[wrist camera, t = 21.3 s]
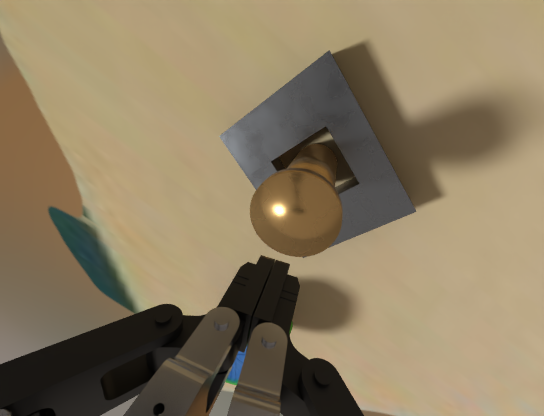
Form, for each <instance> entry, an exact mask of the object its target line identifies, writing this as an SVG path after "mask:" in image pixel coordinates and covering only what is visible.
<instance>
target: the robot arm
mask: <svg viewBox="0 0 544 416" xmlns="http://www.w3.org/2000/svg"><path fill="white" fill-rule="evenodd" d="M289 266H290V264H288V263H285V262H282V261H278V260H276V261H275V259H272V258H268V257H265V256H262V255H261V256H260V258H259V260H258V262H257V264H253V263H249V262H247V263H246V264H244V265H243V266H241V267H240V269H239V270H238V272H237V274H236V276H235V277H234V279H233V281H232V282H231V284H230V286H229V288H228V289H227V291H226V293H225V295H224V296H223V298H222V300H221V301H220V303H219V305H218V306H217V308H214V309H212V310H210V311H209V312H208V313H207V314H206V315H201V316H186V315H183V314H182V311H181V310H180V308H178V307H177V306H175V305H172V304H162V305H158V306H156V307H153V308H150V309H147V310H145V311H142V312H139V313H137V314H134V315H132V316H129V317H126V318H123V319H121V320H118V321H115V322H113V323H110V324H107V325H105V326H102V327H99V328H97V329H94V330H91V331H88V332H86V333H83V334H80V335H78V336H75V337H73V338H70V339H67V340H64V341H62V342H59V343H56V344H54V345H51V346H48V347H45V348H43V349H40V350H38V351H35V352H32V353H29V354H27V355H25V356H21V357H19V358H16V359H14V360H11V361H8V362H5V363H3V364H0V416H100V415H102V414H104V413H106V412H107V411H109V410H111V409H113V408H115V407H117V406H118V405H120V404H122V403H124V402H126V401H128V400H129V399H131V398H133V397H135V396H136V395H138V394H139V395H138V397H137V398H136V399H135V401H134V402H133V404H132V405H131V406H130V408H129V409H128V410H127V411H126V413H125V414H124V415H123V416H209V414H210V412H211V410H212V408H213V406H214V404H215V402H216V400H217V398H218V396H219V394H220V392H221V390H222V388H223V386H224V383H225V381H226V379H227V377H228V375H229V373H230V371H231V369H232V365H233V363H234V361H235V359H236V356H237V354H238V351H240V352H243V353H244V352H245V349H246V347H247V349H246V355H245V359H244V362H243V366H242V369H241V373H240V376H239V380H238V383H237V386H236V388H235V391H234V394H233V397H232V400H231V404H230V407H229V411H228V414H227V416H279V415H280V413H281V414H283V416H364V415H363V413H362V411H361V410H360V408H359V406H358V405H357V403H356V401H355V400H354V398H353V396H352V395H351V393H350V391H349V390H348V388H347V386H346V385H345V383H344V381H343V380H342V378H341V376H340V375H339V373H338V371H337V370H336V368H335V367H334V366H333V365H332V364H331V363H329V362H328V361H326V360H324V359H320V358H313V359H310V360H309V359H307V358H306V357H305V356H303V355H302V354H301V353H299V352H298V351H297V350H296V349H295V347H294V346H293V344H292V342H291V340H290V335H289V332H290V327H291V322H292V318H293V314H294V309H295V305H296V301H297V296H298V292H299V288H300V285H299V282H298V278H297V277H294V276H291V275H288V270H289ZM247 344H248V345H247Z"/></svg>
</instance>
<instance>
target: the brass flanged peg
mask: <svg viewBox="0 0 544 416" xmlns="http://www.w3.org/2000/svg"><path fill="white" fill-rule="evenodd" d="M336 173H337V159H336V156H335V154H334V153H333V151H332V150H331V149H330V148H328V147H327V146H324V145H321V144H311V145H308V146H306V147H304V148H303V149H302V150H301V151H300V152H299V153H298V154H297V156H296V157H295V158H294V160H293V161H292V162H291V164H290V165H289V166H288V168H287V169H283V170H280V171H277V172H275V173H273V174H272V175H270V176H269V177H268V178H267V179H266V180H265V181H264V182H263V183H262V184H261V185H260V186H259V187H258V189H257V190H256V192H255V193H254V195H253V198H252V200H251V205H250V217H251V222H252V225H253V227H254V229H255V231H256V233H257V234H258V236H259V237H260V238H261V240H262V241H263V242H264V243H265V244H267V245H268V246H269V247H271V248H272V249H274V250H276V251H278V252H280V253H282V254H285V255H289V256H295V257H305V256H311V255H315V254H318V253H320V252H322V251H324V250H325V249H327V248H328V247H329V246H330V245H332V243H333V242H334V241H335V240H336V238H337V237H338V235H339V232H340V230H341V226H342V215H343V210H342V202H341V199H340V196H339V194H338V192H337V190H336V189H335V180H336Z"/></svg>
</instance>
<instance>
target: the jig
mask: <svg viewBox="0 0 544 416" xmlns="http://www.w3.org/2000/svg"><path fill="white" fill-rule="evenodd" d="M325 126H326V127H327V129H328V130H329V132H330V134H331V135H332V137H333V139H334V141H335V142H336V144H337V146H338V147H339V149H340V151H341V153H342V154H343V156H344V158H345V160H346V161H347V163H348V165H349V166H350V168H351V170H352V172H353V173H354V175H355V178H353V179H351V180H349V181H347V182H345V183H343V184H341V185H339V186H337V187H335V189H336V190H337V192H338V194H339V196H340V199H341V202H342V210H343V215H342V226H341V230H340V232H339V235H338V237H337V238H336V240H335V241H334V242H333V243H332V245H330V246H329V247H331V246H334V245H336V244H339V243H341V242H343V241H346V240H348V239H351V238H353V237H356V236H358V235H360V234H363V233H365V232H368V231H370V230H373V229H375V228H378V227H380V226H382V225H385V224H387V223H390V222H392V221H395V220H397V219H400V218H402V217H404V216H407V215H409V214H412V213H414V212H416V210H415V208H414V206H413V204H412V202H411V201H410V199H409V197H408V195H407V193H406V191H405V189H404V188H403V186H402V184H401V182H400V180H399V178H398V176H397V175H396V173H395V171H394V169H393V167H392V165H391V164H390V162H389V160H388V158H387V156H386V154H385V152H384V151H383V149H382V147H381V145H380V143H379V141H378V139H377V138H376V136H375V134H374V132H373V130H372V128H371V126H370V125H369V123H368V121H367V119H366V117H365V115H364V114H363V112H362V110H361V108H360V106H359V104H358V102H357V101H356V99H355V97H354V95H353V93H352V91H351V89H350V88H349V86H348V84H347V82H346V80H345V78H344V76H343V75H342V73H341V71H340V69H339V67H338V65H337V64H336V62H335V60H334V58H333V56H332V54H331V52H330V51H328V52H326V53H325V54H324V55H323V56H321V57H320V58H319V59H317V60H316V61H315V62H314V63H312V64H311V65H310V66H309V67H307V68H306V69H305V70H303V71H302V72H301V73H300V74H298V75H297V76H296V77H294V78H293V79H292V80H291V81H289V82H288V83H287V84H285V85H284V86H283V87H282V88H280V89H279V90H278V91H276V92H275V93H274V94H273V95H271V96H270V97H269V98H268V99H266V100H265V101H264V102H262V103H261V104H260V105H259V106H257V107H256V108H255V109H253V110H252V111H251V112H250V113H248V114H247V115H246V116H244V117H243V118H242V119H241V120H239V121H238V122H237V123H235V124H234V125H233V126H232V127H230V128H229V129H228V130H227V131H225V132H224V133H223V134H221V135H220V136H219V137H220V138H221V140H222V141H223V142H224V144H225V145H226V147H227V148H228V150H229V151H230V153H231V154H232V156H233V157H234V158H235V160H236V161H237V163H238V164H239V166H240V167H241V169H242V170H243V171H244V173H245V174H246V176H247V177H248V179H249V180H250V182H251V183H252V185H253V186H254V187H255V189H256V190H257V189H258V187H259V186H260V185H261V184H262V183H263V182H264V181H265V180H266V179H267V178H268V177H269V176H270V175H272V174H273V173H275V172H277V171H280V170H283V169H286V168H285V167H284V165H283V164H282V162H281V161H280V159H279V158H278V157H279V156H280V155H282V154H283V153H285V152H286V151H288V150H289V149H291V148H293V147H294V146H296V145H297V144H299V143H300V142H302V141H303V140H305V139H307V138H308V137H310V136H311V135H313V134H314V133H316V132H318V131H319V130H321V129H322V128H324V127H325ZM329 247H328V248H329ZM305 257H307V256H305ZM303 258H304V257H303Z"/></svg>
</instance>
